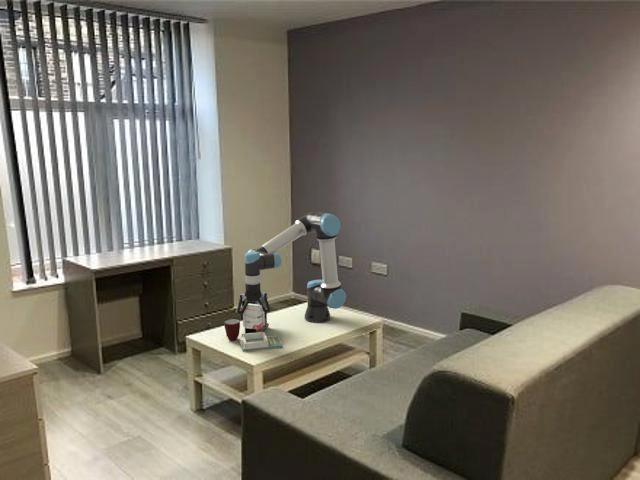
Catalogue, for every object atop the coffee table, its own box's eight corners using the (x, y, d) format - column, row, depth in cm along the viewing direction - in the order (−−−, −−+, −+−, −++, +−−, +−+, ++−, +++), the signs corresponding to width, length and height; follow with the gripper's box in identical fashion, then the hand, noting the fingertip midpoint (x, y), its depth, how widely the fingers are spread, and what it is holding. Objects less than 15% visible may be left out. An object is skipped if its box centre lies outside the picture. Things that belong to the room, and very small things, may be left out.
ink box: (263, 326, 272) (263, 304, 270) (259, 329, 268) (258, 307, 265) (248, 324, 275) (247, 302, 273) (244, 328, 270) (243, 305, 268)
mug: (219, 338, 283) (218, 320, 281) (231, 334, 289) (230, 317, 287) (231, 343, 276) (230, 325, 274) (243, 339, 282) (243, 321, 280)
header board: (277, 338, 283) (277, 330, 282) (282, 347, 270) (282, 339, 269) (239, 341, 278) (239, 334, 277) (242, 351, 265) (241, 343, 264)
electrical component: (260, 338, 283) (258, 302, 279) (241, 337, 285) (240, 301, 281) (269, 327, 300) (268, 293, 296) (252, 326, 302) (251, 292, 298)
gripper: (273, 279, 273) (274, 321, 277) (230, 282, 268) (231, 324, 272) (275, 283, 266) (276, 325, 270) (231, 286, 261) (232, 329, 265)
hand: (253, 325), depth 271 cm, fingers closed on ink box, 9 cm apart
